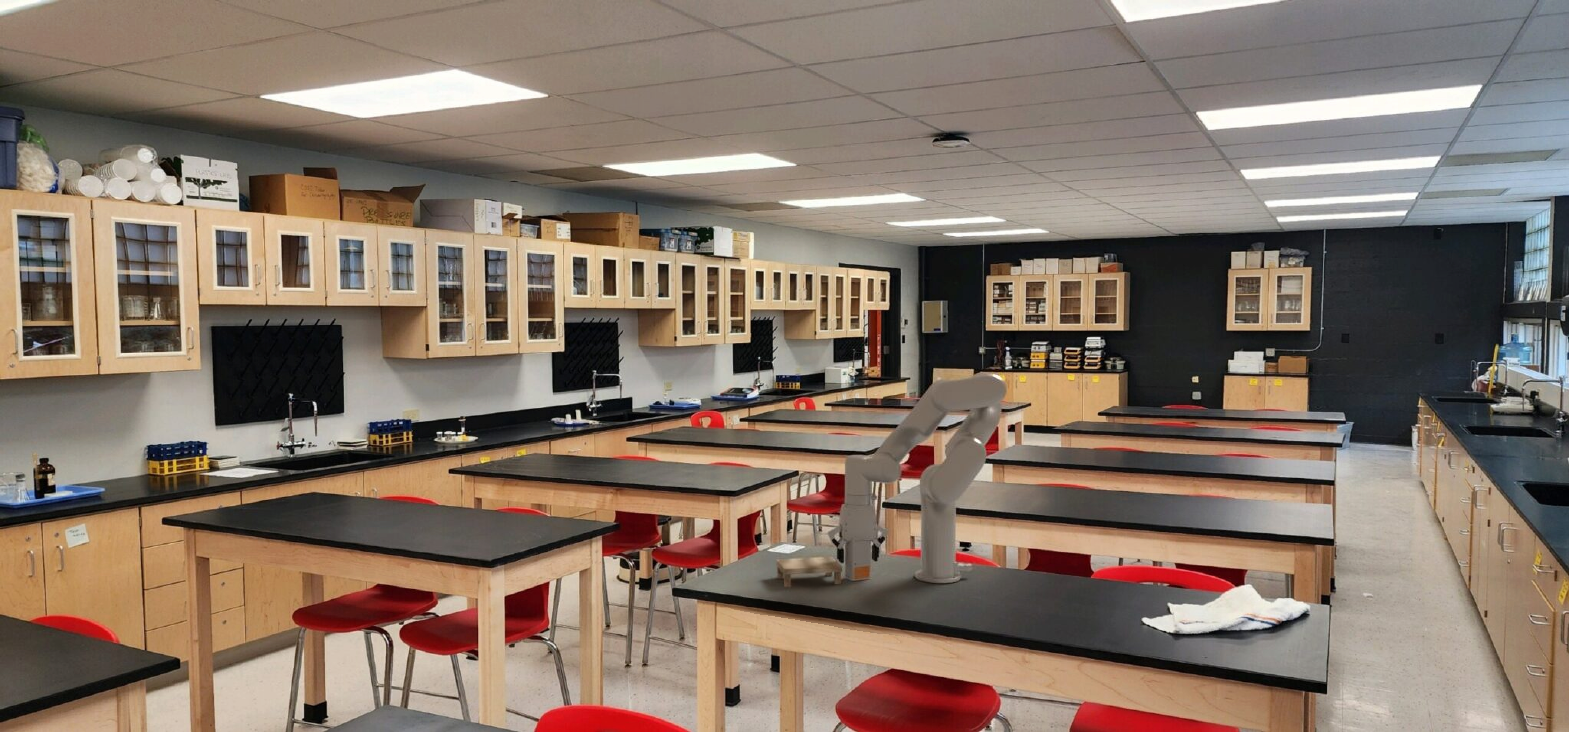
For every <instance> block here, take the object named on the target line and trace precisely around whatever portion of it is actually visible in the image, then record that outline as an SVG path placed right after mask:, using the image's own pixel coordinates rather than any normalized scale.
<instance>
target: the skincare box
mask: <svg viewBox="0 0 1569 732" xmlns="http://www.w3.org/2000/svg"><path fill="white" fill-rule="evenodd" d="M844 546H845V549H844V578H845V579H847V580H848V581H851V582H855V581H862V580H870V579H871V561H872V541H863V540H862V539H861V538H852V541H851V542H846V543H845V545H844Z"/></svg>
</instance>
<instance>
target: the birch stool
mask: <svg viewBox="0 0 1569 732" xmlns="http://www.w3.org/2000/svg"><path fill="white" fill-rule="evenodd" d="M775 564H776V565H775V566H776V578H777V579H778V580H782V579H783V586H784V588H791V587H792V581H791V580H792V575H803V574H804V575H806V574H807V575H808V574H823V573H824V574H825V576H826V575H827V576H826V577H832V576H833V575H834V576H833V584H834V585H836V584H837V585H842V573H843V566H842V564H841V563H840V562H839V561H837V560H836V559H834V557H832V556H819V557H802V558H801V557H799V558H780V559H779V558H778V559H776V560H775Z"/></svg>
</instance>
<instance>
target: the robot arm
mask: <svg viewBox="0 0 1569 732" xmlns="http://www.w3.org/2000/svg"><path fill="white" fill-rule="evenodd" d="M1007 392H1008V391H1007V385H1006V383H1005V380H1004V379H1003V378H1002V377H1001V376H1000V375H997V374H995V373H990V372H983V371H982V372H977V373H975V374H974V375H973V376H971V377H968V378H961V379H954V380H950V379H944V378H943V379H938V380H936V381H933V383H932V384H931V385H930V386H929V387H928V389H927V390H926V391H925V393H924V394H923V395H922V396H921V398H920V399H919V400H918V401H917V403H916V404H915V405H914V407H913V408H912V409H911V410H910V411H909V413H908V414H907V416H906V417H905V418H904V419H903V420H902V421H901V422H900V423H899V424H898V425H897V427H896V428H895V429H894V430H893V431H892V432H891V433H890V434H889V435H888V436H887V437H886V438H885V440H884V441H883V442H882V444H881V445H879V447H878V449H877V450H876V451H875V452H874V454H873V456H872V457H871V456H869V455H864V454H852V455H848V456H846V458H845V461H844V462H845V463H844V503H842V504H841V507H840V512H839V521H838V526H836V527H834V528H833V529H831V530H829V531H827V536H828V537H829V540H830V542H831V543H832V544H833V545H834V546H835V547H836V559H837V560H838V563H839V564H845V549H844V546H845V545H846V542H851V541H852V538H861V539H862V540H863V541H871V561H872V560H873V561H874V562H878V558H879V557H880V547H881V546H882V544H883V543H884V542H885V541H886V538H887V537H888V534H889V530H888V529H886V528H884V527H882V526H881V525H878V523H877V514H876V509H875V504H873V501H877V500H878V497H877V495H876V494H875V495H874V494H873V482H874V483H881V484H893V483H895V482H896V481H898V480H899V479H900V477H901V475H902V470H903V469H902V466H901V462H902V461H903V460H904V459H905V457H906V456H907V455H908V454H909V453H910V452H911V450H913V449H914V448H915V447H917V446H918V445H920V444H922V443H924V442H925V441H927V440H928V439H929V438H930V437H932V435H933V434H934V432H936V429H938V427H939V426H940V424H942V422H943V421H944V420H945V418H946V417H947V415H949V414H950V413H954V412H962V411H969V412H968V413H967V415H966V417H965V419H964V420H963V422H962V423H961V425H960V426H959V427H958V428H957V430H956V431H955V432H954V434H953V435H952V436H951V438H950V439H949V440H948V441H947V443H946V446H944V447H945V448H944V455H945V458H944V460H943V462H942V463H941V464H938V463H935V464H930V465H929V466H927V467H926V468H925V469H924V470H923V472H922V473H921V476H920V479H919V493H920V513H921V515H920V516H921V518H920V519H921V521H920V569H918V570H916V571H915V572H914V573H915V574H914V576H915V578H916V579H917V580H919V581H921V582H924V583H925V582H926V583H930V584H931V583H933V584H951V583H955V582H959V581H960V580H961V579H962V578H961V577H962V575H961V572H962V571H963V572H967V571H972V570H973V565H972V563H964V562H958V561H956V536H957V534H956V531H957V530H956V525H957V524H956V523H957V521H956V520H957V517H956V516H957V513H956V512H957V509H956V507H957V506H956V502H957V501H958V500H959V499H961V497H962V496H963V495H964V493H965V492H966V491H968V490H967V489H968V488H969V487H970V485H972V483H973V482H974V480H975V479H976V477H977V476H978V475H979V473H980V472H981V470H982V469H983V467H984V465H985V464H986V461H987V450H986V447H985V446H986V444H987V443H988V442H989V440H990V439H991V437H992V435H993V434H994V433H995V431H996V430H997V428H998V425H999V424H1000V420H1001V416H1002V402H1003V400H1004V399H1005V397H1006V395H1007ZM878 531H879V532H880V533H881V534H880V535H879V536H878ZM836 534H838V537H839V539H838V540H837V539H836V538H835V535H836ZM877 537H878V538H877Z"/></svg>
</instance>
